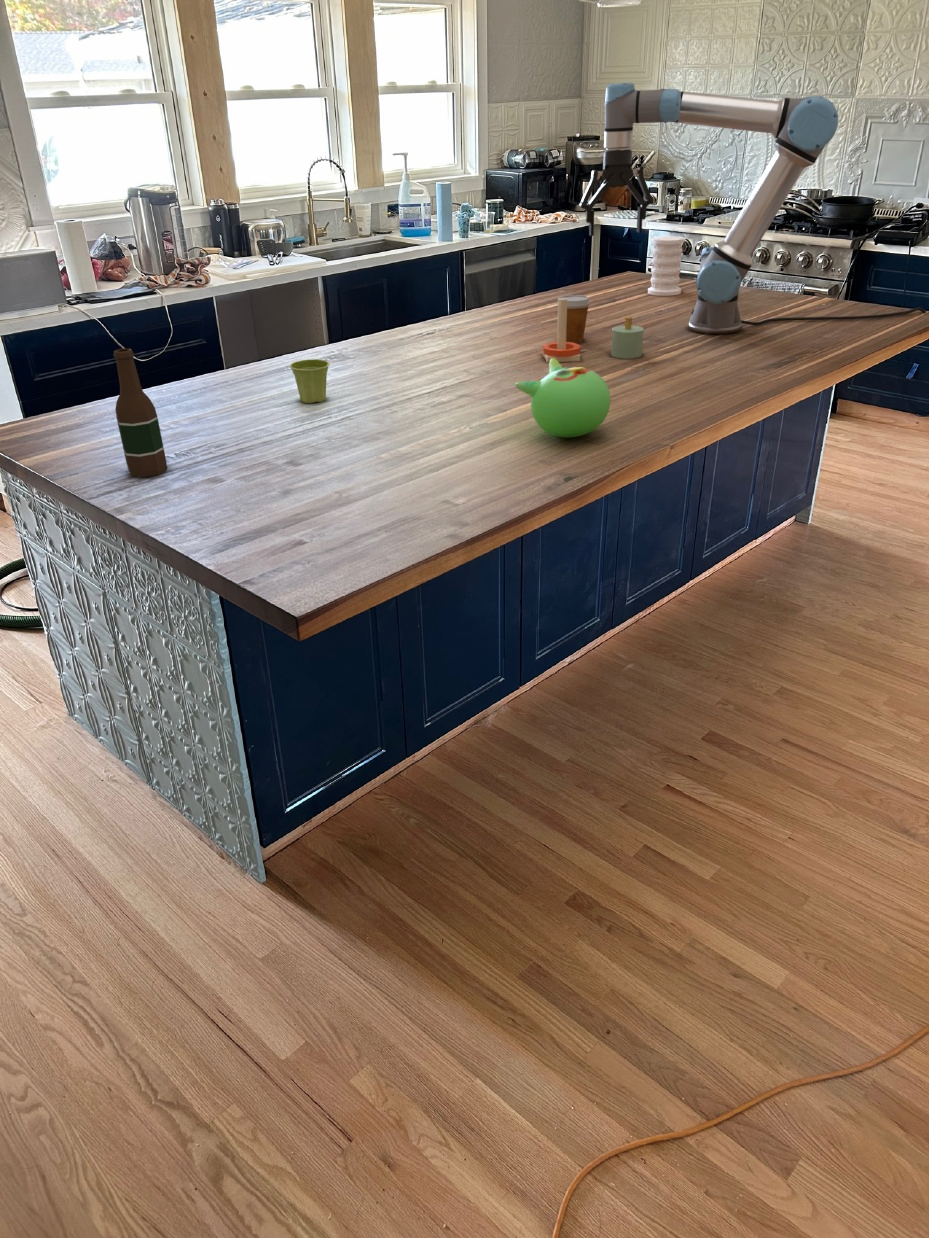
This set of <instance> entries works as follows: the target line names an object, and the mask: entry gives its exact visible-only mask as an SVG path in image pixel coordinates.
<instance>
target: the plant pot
mask: <svg viewBox="0 0 929 1238" xmlns="http://www.w3.org/2000/svg"><path fill="white" fill-rule="evenodd" d="M329 366H330V362H329V361H327V360H324V359H318V358H317V359H316V358H312V359H309V358H308V359H302V360H301V359H300V360H296V361H293V362H292V363H290V364H289V368H290V369H291V370H292V374H293V375H294V380H295V383H296V387H297V391H298V395H299V400H300V401H301V402H302V403H306V404H314V403H316V402H318V403H322V402H324V401H326V399H327V378H328V377H327V375H328V371H329Z"/></svg>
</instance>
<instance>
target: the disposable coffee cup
mask: <svg viewBox="0 0 929 1238" xmlns="http://www.w3.org/2000/svg"><path fill="white" fill-rule="evenodd" d="M559 298H567V325H566V342H572V343H576V344H579V343H582V342H584V337H585V331H586V323H587V317H588V313H589V306H590V304H591V301H590V298H589V296H587V295H583V294H567V295H566V294H565V295H560V296H559V297H558V298H557V300H558V299H559ZM556 304H557V306H558V301H556Z"/></svg>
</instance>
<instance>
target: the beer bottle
mask: <svg viewBox="0 0 929 1238" xmlns="http://www.w3.org/2000/svg"><path fill="white" fill-rule="evenodd" d="M134 357H135V353H134V351H133V350H132V349H131V348H125V347H123V348H118V349H115V350H114V351H113V358H114V359H115V363H116V368H117V374H118V375H117V376H118V381H119V395H118V398H117V399H116V403H115V409H114V410H115V416H116V422H117V426H118V432H119V436H120V440H121V445H122V449H123V453H124V458H125V459H124V460H125V462H126V466H127V469H128V472H129V474H130V476H132V477H133V478H141V479H145V478H151V477H157V476H159V475H162V474H163V473H165V472H166V471H168V464H167V458H166V453H165V448H164V442H163V438H162V432H161V428H160V422H159V417H158V413H157V410H156V406H155V405H154V404H153V402H152V400H151V399H150V397H149V396H148V395H147V393H145V391H144V390H143V387H142V385H141V381H140V377H139V374H138V371H137V367H136V364H135V360H134Z"/></svg>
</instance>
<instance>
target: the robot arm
mask: <svg viewBox="0 0 929 1238" xmlns="http://www.w3.org/2000/svg"><path fill="white" fill-rule="evenodd" d="M653 123H664V124H666V123H678V124H685V125H693V126H694V125H695V126H703V127H713V128H721V129H728V130H738V131H745V132H746V131H747V132H754V133H755V132H756V133H763V134H765V133H766V134H771V135H772V137H773V138H774V139H775V141H774V149H775V151H774V154H773V156H772V158H771V159H770V160H769V163H768V165H767V166H766V168H765V169H764V171H763V173H762V175H761V177H760V178H759V180H758V181H757V183H756V185H755V187H754V188H753V189H752V192H751V194H750V195H749V197H748V199H747V200H746V202H745V203H744V205H743V207H742V209H741V211H740V212H739V214H738V215H737V217H736V219H735V221H734V223H733V225H732V226H731V227H730V229H729V231H728V232H727V234H726V236H725V238H724V239H723V240H721V241H719V242H716V243H715V244H714V246H705V247H704V248H703V249H702V250H701V253H700V265H699V271H698V273H697V275H696V279H695V286H696V289H697V299H696V303H695V306H694V308H693V309H692V311H691V314H690V318H689V320H688V330H690V331H692V332H694V333H698V334H699V333H700V334H707V335H726V334H734V333H737V332H740V331H741V330H742V325H748V326H749V325H750V326H759V325H763V324H768V323H770V322H771V323H772V322H792V321H835V320H836V321H837V320H839V321H840V320H841V321H842V320H865V319H879V318H889V317H895V316H896V317H897V316H903V315H908V314H912V313H914V312H917V311H920V312H921V313H923V314H927V312H926V310H925V308H923V307H920V306H919V307H913V308H911V309H908V310H905V311H904V310H903V311H896V312H890V313H881V314H870V315H869V314H868V315H850V316H849V315H848V316H846V315H845V316H798V317H797V316H795V317H775V318H766V319H763V320H760V321H750V320H749V321H748V320H743V319H741V313H740V308H739V304H738V303H739V293H740V292H739V291H740V288H741V285H742V283H743V281H744V280H745V278H746V276H747V275H748V274H749V271H750V270H751V268H752V266H753V264H754V263H753V258H752V257H753V256H752V255H753V254H754V252H755V250H756V249H757V247H758V246H759V244H760V242H761V241H762V239H763V237H764V236H765V234H766V232H767V231H768V229H769V227H770V226H771V225H772V222H773V221H774V220H775V217H776V216H777V215H778V213H779V211H780V209H781V208H782V206H783V205H784V203H785V201H786V199H787V198H788V196H789V195H790V193H791V191H792V189H794V186H795V185H796V183H797V181H798V179H799V178H800V176H801V175H802V174H803V172H804V170H805V169H806V168H808V167H811V166H814V165H815V163H816V162H817V160H818V158H819V157H820V155H821V153H822V152H823V150H825V149H824V148H825V147H826V146H827V144H829V142H830V141H832V139H833V138H834V136H835V134H836V132H837V130H838V125H839V113H838V109H837V108H836V106H835V105H834V103H833V102H832V101H831V100H829V99H828V98H825V97H823V96H819V95H814V96H808V97H807V96H806V97H795V98H794V97H784V96H783V97H782V98H781V99H779V100H770V99H761V98H749V97H740V96H733V95H732V96H730V95H724V94H723V95H721V94H711V93H704V92H695V91H694V92H693V91H681V90H679V89H678V88H660V89H650V90H636V87H635V83H634V82H619V83H618V82H617V83H610V84H608V85H607V86H606V87H605V99H604V136H603V137H604V138H603V139H604V142H603V148H604V149H605V150H604V151H603V168H602V171H601V170H595V169H593V170H592V171H591V174H590V180H589V182H588V183H587V186H586V189H585V191H584V194H583V195H582V198H581V200H580V202H579V203H578V204H579V208H580V209H583V210H585V222H586V223H587V224H588V236H590V237H594V236H595V210H594V209H593V208H594V207H595V205H596V204H597V203H598V202H599V200H600V199H601V197H602V196H603V195H604V193H605V192H606V191H607V190H608V189H609V188H612V189H613V188H614V189H615V188H617V187H618V188H624V187H626V188H627V189H628V191H629V192H630V193H631V195H632V196H633V197H634V198H635V200H636V202H637V203H638V204H639V205H640V206H637V216H636V233H638V234H642V233H643V220H646V219H647V208H648V206H650V205H652V204H654V199H653V196H652V194H651V192H650V189H649V187H648V184H647V182H646V179H645V177H644V169H643V168H642V167H639V166H638V167H637V168H633V167H632V163H633V150H632V149H631V148H633V138H634V137H633V133H634V132H633V131H634V124H653ZM632 176H634V177H635V178H636V179H637V181H638V184H639V186H640V189H641V191H642V194H643V196H644V198H645V199H644V198H643V196H642V195H641V193H640V192H639V191H638V190H637V189H636V186H634V183H632V181H631V180H630V179H631V178H632ZM601 177H602V179H603V180H604V181H603V182H602V184H601V185H600V187H599V188H598V189H597V191H596V192H595V193H594V195H593V196H592V197H591V195H592V193H593V191H594V188H595V186H596V184H597V181H598V180H600V178H601ZM590 197H591V198H590ZM589 199H590V200H589Z"/></svg>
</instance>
